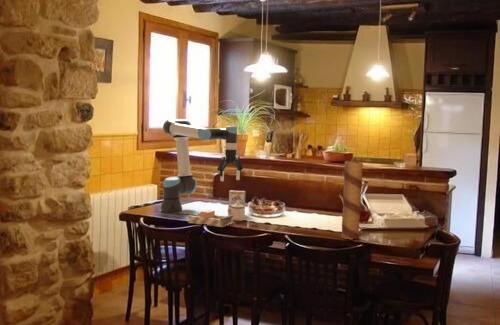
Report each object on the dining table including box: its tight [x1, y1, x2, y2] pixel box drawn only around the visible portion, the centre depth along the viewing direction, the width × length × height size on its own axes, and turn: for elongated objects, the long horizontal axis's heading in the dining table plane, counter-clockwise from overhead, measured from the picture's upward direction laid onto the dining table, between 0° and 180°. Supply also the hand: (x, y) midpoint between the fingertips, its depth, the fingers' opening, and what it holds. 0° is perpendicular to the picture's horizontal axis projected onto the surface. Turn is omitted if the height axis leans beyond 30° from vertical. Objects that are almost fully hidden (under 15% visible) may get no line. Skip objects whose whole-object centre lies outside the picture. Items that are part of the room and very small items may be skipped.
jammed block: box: [199, 209, 216, 219], centre depth 367 cm, size 6×8×6 cm
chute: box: [187, 212, 234, 228], centre depth 366 cm, size 25×14×5 cm, turn 64°
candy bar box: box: [227, 189, 246, 216], centre depth 397 cm, size 11×5×16 cm, turn 84°
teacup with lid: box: [227, 202, 245, 222], centre depth 381 cm, size 12×9×12 cm
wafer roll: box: [341, 160, 364, 241], centre depth 331 cm, size 10×11×45 cm
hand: (230, 180), depth 387 cm, fingers open, 13 cm apart
